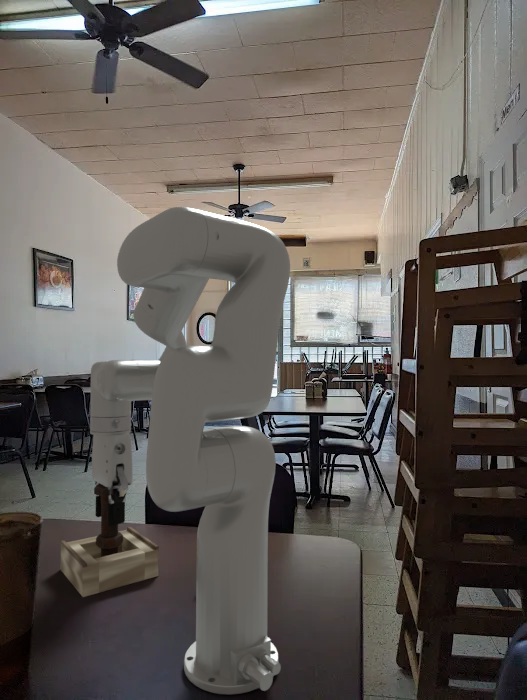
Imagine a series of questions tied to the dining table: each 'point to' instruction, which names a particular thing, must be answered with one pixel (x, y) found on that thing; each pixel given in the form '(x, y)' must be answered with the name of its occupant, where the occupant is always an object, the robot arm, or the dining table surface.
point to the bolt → (109, 534)
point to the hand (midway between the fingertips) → (109, 518)
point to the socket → (109, 563)
